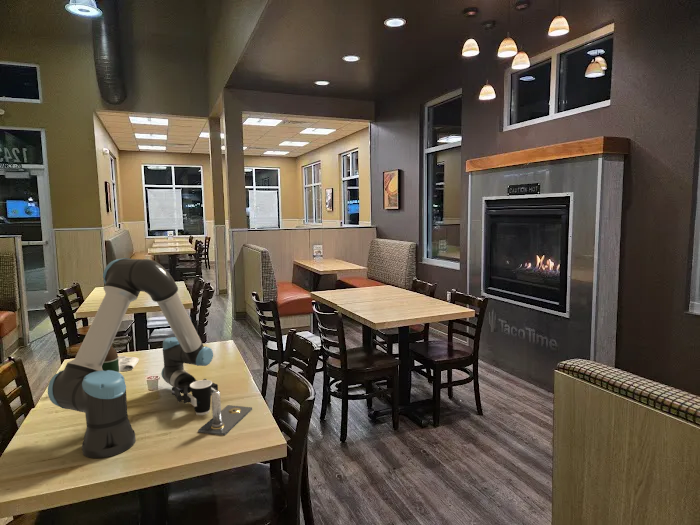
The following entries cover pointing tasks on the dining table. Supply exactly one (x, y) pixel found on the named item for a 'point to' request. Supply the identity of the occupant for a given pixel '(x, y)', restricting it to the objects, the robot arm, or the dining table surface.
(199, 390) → the dixie cup
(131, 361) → the folded newspaper
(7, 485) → the dining table surface
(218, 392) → the post
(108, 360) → the beer bottle
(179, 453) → the dining table surface
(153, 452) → the dining table surface
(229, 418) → the plate
